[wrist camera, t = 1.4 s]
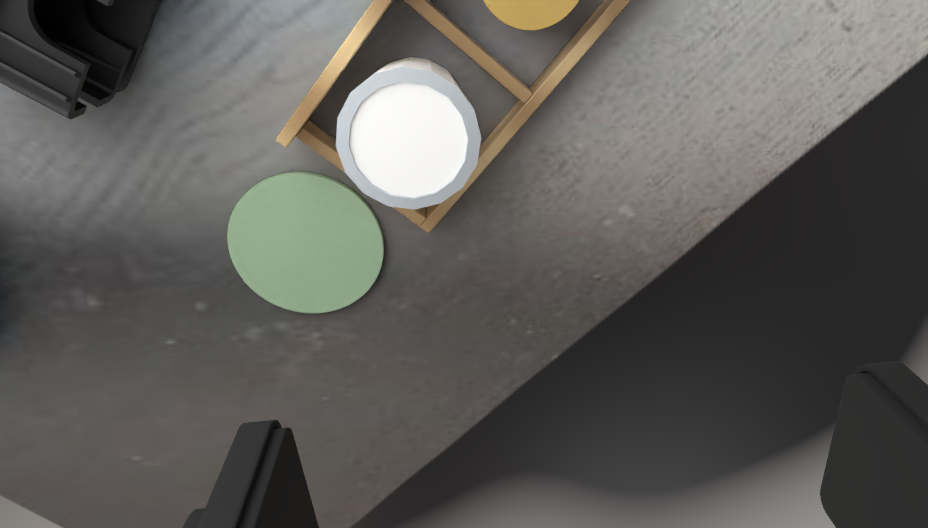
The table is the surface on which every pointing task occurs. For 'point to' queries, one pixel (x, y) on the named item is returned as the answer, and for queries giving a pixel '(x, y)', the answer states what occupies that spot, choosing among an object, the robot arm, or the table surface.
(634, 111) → the table surface
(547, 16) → the coffee pod
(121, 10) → the end cap
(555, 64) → the pod caddy
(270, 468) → the robot arm
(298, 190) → the coaster
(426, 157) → the shot glass
